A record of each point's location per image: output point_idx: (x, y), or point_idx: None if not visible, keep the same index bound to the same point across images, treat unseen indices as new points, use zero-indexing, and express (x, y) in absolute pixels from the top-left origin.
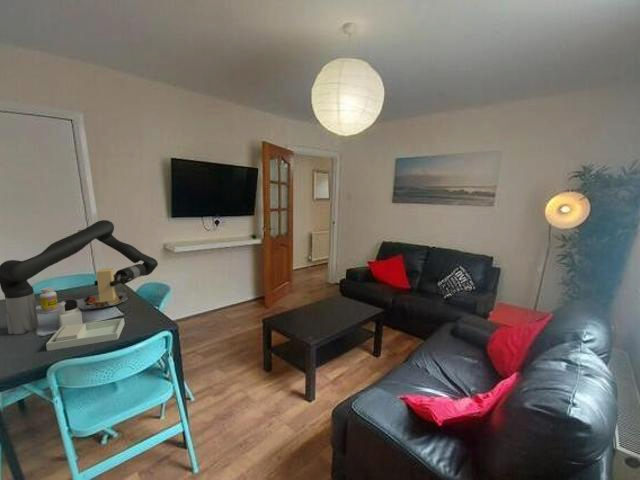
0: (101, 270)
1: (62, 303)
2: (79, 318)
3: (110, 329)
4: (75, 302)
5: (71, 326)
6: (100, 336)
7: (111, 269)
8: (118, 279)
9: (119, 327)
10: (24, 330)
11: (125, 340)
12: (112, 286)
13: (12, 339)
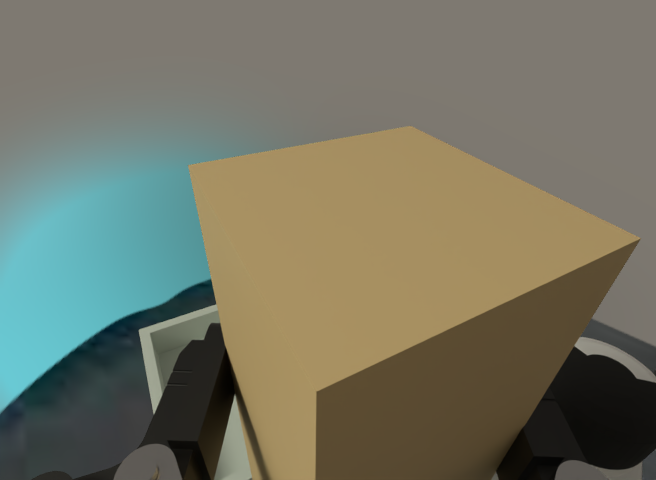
0: (423, 171)
1: (590, 341)
2: None
3: (238, 441)
4: (556, 395)
5: None
6: (208, 309)
7: (238, 236)
8: (142, 464)
9: (149, 380)
10: (654, 374)
11: (117, 369)
12: (242, 416)
13: (609, 339)
